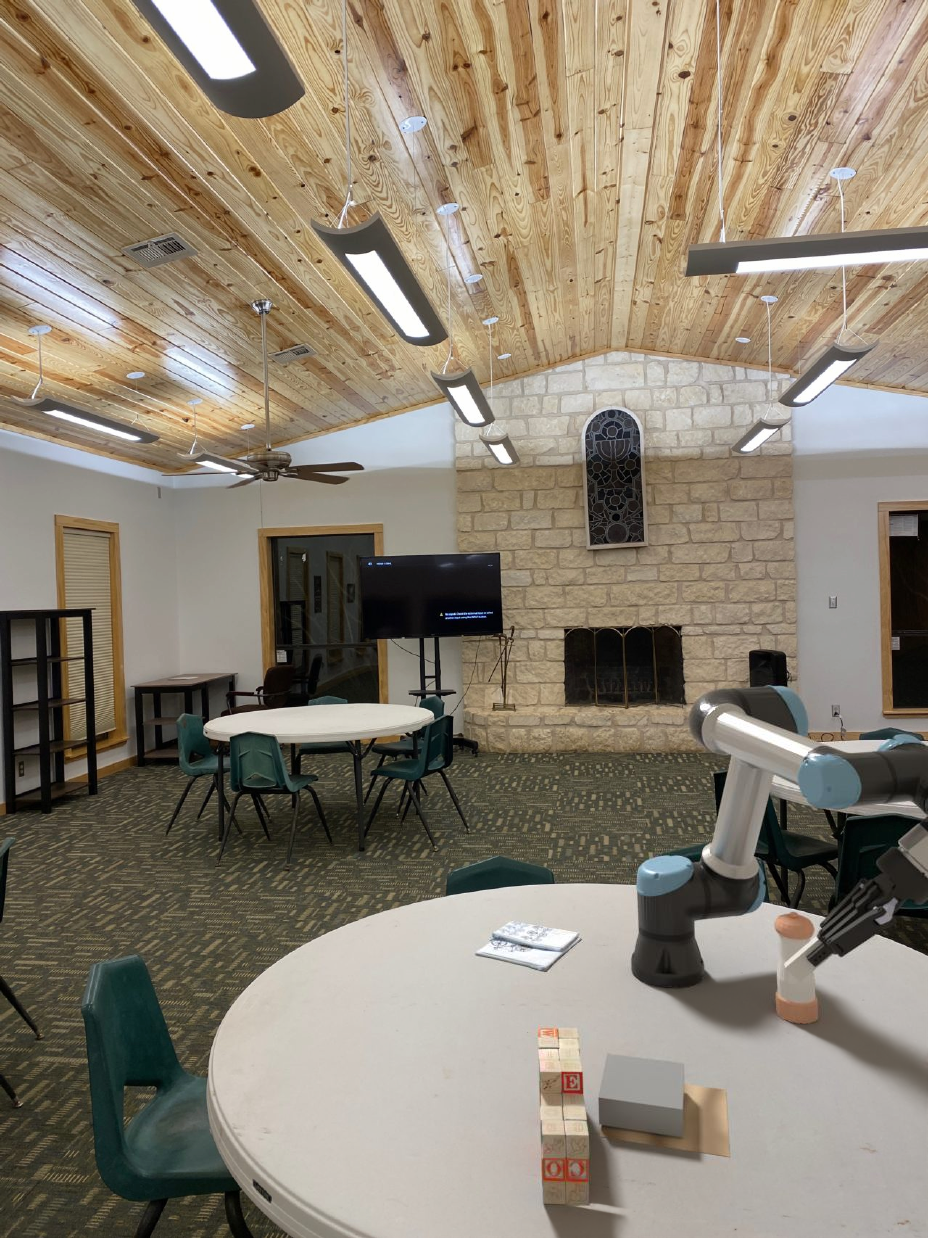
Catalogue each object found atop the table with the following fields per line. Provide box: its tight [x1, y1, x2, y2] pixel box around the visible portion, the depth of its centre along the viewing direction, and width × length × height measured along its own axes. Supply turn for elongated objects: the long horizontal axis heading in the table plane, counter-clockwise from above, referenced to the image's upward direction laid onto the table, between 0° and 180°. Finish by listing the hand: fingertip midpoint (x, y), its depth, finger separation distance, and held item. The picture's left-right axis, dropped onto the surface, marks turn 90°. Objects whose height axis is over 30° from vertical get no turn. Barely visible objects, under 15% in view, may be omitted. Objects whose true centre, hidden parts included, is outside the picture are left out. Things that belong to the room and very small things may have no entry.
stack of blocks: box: [537, 1027, 590, 1206], centre depth 112 cm, size 21×6×12 cm, turn 175°
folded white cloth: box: [474, 920, 582, 972], centre depth 182 cm, size 19×20×2 cm
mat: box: [598, 1083, 731, 1158], centre depth 119 cm, size 18×16×1 cm
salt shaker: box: [773, 911, 819, 1025], centre depth 148 cm, size 7×7×19 cm
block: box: [597, 1053, 686, 1137], centre depth 120 cm, size 4×12×12 cm
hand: (792, 972), depth 114 cm, fingers closed
